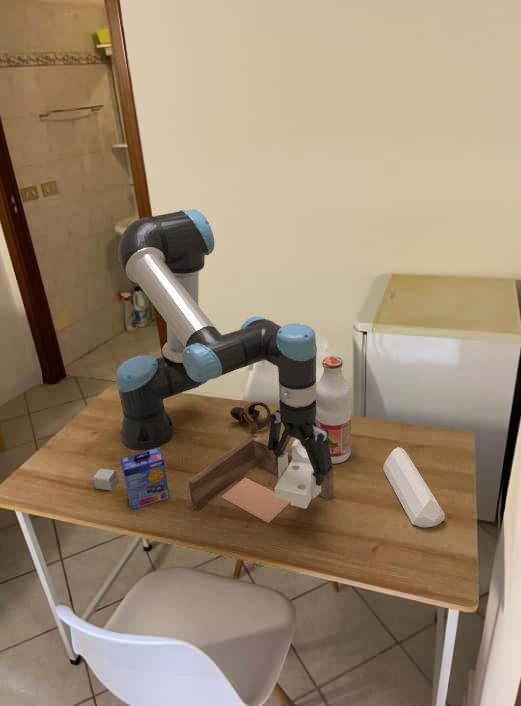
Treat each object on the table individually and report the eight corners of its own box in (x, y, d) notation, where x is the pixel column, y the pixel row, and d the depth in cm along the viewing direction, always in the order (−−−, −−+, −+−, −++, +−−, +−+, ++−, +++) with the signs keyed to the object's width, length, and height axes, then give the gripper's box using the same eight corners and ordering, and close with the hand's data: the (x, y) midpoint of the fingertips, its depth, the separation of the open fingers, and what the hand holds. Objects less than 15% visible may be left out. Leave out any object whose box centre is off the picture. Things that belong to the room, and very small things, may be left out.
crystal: (373, 455, 140) (408, 521, 119) (398, 440, 139) (437, 504, 118) (387, 473, 143) (423, 541, 122) (410, 459, 142) (451, 524, 121)
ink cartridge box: (131, 511, 132) (121, 462, 126) (127, 497, 137) (116, 449, 131) (171, 498, 136) (163, 449, 129) (165, 485, 140) (157, 438, 134)
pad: (220, 497, 135) (220, 496, 135) (245, 478, 141) (245, 477, 141) (268, 523, 126) (268, 522, 126) (292, 501, 132) (292, 500, 132)
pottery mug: (267, 414, 169) (273, 400, 162) (266, 441, 163) (272, 428, 156) (229, 408, 167) (233, 394, 161) (226, 436, 161) (230, 422, 155)
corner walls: (192, 507, 132) (188, 480, 129) (254, 459, 148) (252, 434, 144) (273, 554, 117) (271, 525, 114) (333, 495, 133) (333, 468, 129)
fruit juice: (357, 459, 145) (358, 364, 133) (324, 468, 142) (323, 372, 130) (340, 440, 153) (340, 349, 141) (309, 448, 151) (307, 356, 138)
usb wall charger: (111, 491, 139) (108, 479, 138) (87, 488, 141) (83, 476, 139) (118, 481, 143) (116, 469, 141) (94, 478, 145) (91, 466, 143)
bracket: (296, 465, 130) (295, 439, 127) (325, 472, 127) (325, 445, 124) (275, 500, 120) (273, 472, 116) (306, 508, 117) (305, 480, 114)
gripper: (246, 391, 116) (252, 476, 126) (331, 424, 104) (330, 516, 114) (269, 376, 121) (273, 459, 131) (352, 406, 109) (349, 496, 119)
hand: (299, 486), depth 123 cm, fingers closed on bracket, 8 cm apart
